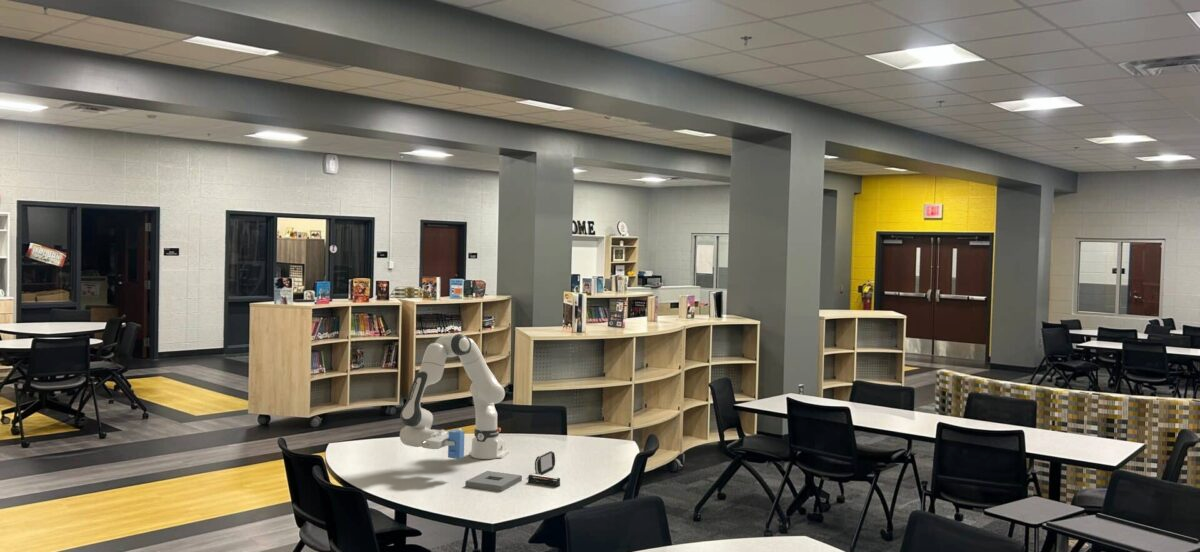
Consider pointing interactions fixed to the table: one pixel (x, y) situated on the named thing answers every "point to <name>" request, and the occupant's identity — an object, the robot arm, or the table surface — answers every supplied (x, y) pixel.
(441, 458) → the table surface
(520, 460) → the table surface
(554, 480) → the black flat block
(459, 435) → the blue rectangular block
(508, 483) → the plate
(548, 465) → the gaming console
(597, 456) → the table surface
